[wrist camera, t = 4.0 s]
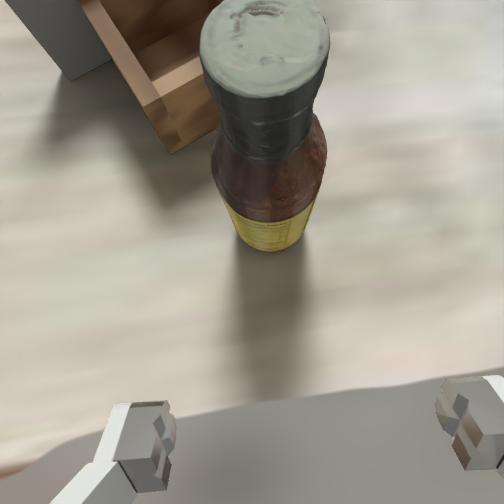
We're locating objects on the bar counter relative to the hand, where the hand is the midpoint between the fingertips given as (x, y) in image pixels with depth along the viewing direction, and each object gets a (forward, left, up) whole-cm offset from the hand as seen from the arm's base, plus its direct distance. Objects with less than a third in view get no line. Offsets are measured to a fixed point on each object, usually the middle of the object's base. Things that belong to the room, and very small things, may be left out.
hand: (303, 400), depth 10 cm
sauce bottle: (+5, +10, -18) cm, 21 cm away
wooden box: (+7, +27, -17) cm, 33 cm away
